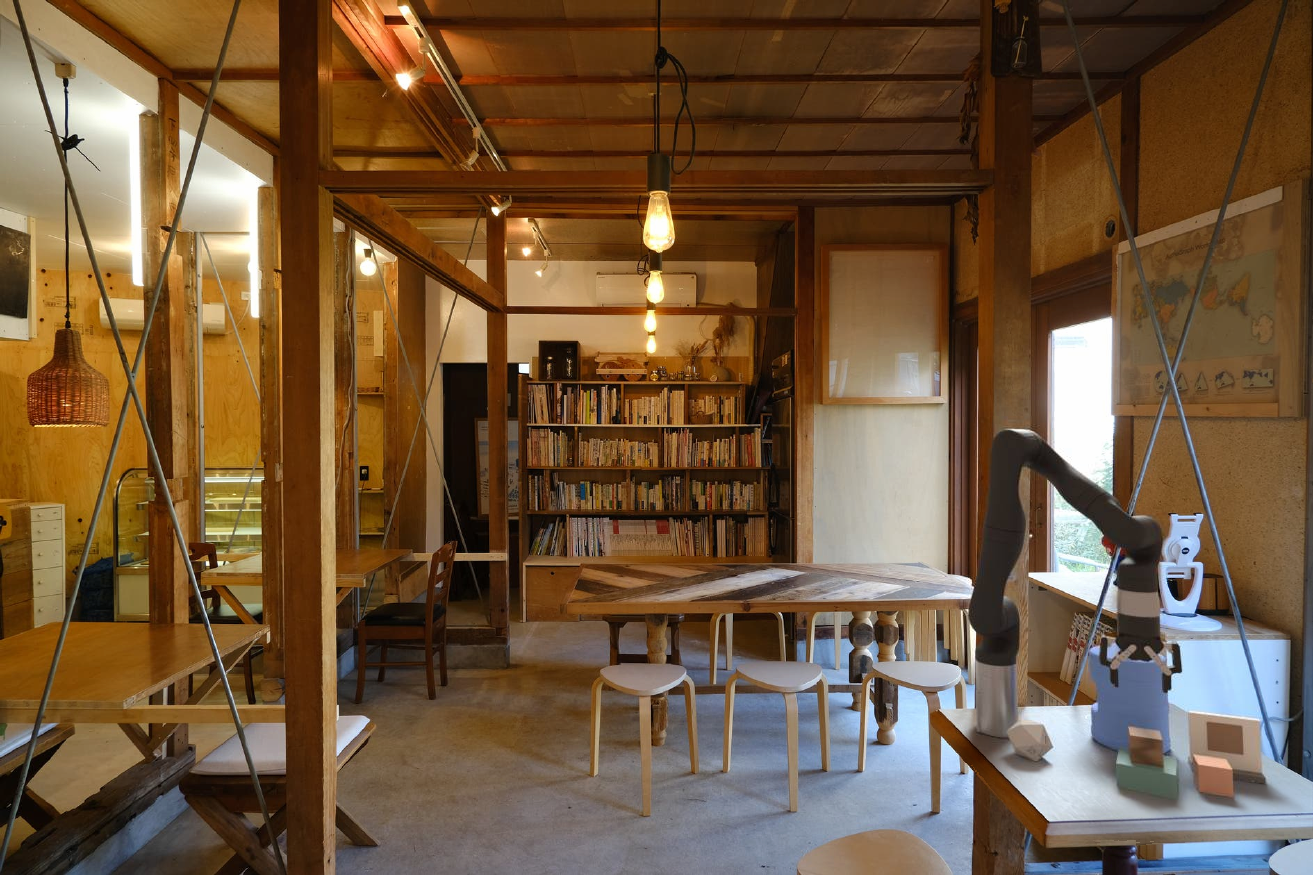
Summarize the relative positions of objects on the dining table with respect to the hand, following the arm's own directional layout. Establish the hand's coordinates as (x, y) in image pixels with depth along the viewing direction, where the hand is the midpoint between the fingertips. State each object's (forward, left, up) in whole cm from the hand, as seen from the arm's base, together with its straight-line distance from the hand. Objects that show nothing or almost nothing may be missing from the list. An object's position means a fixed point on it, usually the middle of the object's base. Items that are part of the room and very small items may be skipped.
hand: (1140, 688), depth 149 cm
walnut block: (+1, 0, -14) cm, 14 cm away
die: (-21, +4, -19) cm, 29 cm away
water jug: (0, +22, -19) cm, 29 cm away
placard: (+16, +12, -19) cm, 28 cm away
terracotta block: (+12, +2, -19) cm, 23 cm away
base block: (+1, -1, -19) cm, 19 cm away
